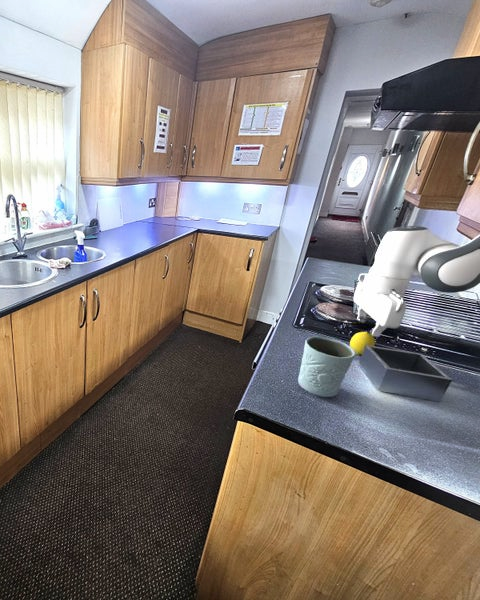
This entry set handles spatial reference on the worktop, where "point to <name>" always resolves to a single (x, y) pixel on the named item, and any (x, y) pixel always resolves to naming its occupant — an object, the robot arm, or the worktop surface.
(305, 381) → the pale green embossed cup
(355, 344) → the lemon
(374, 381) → the open grey rectangular container
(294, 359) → the worktop surface
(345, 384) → the worktop surface
